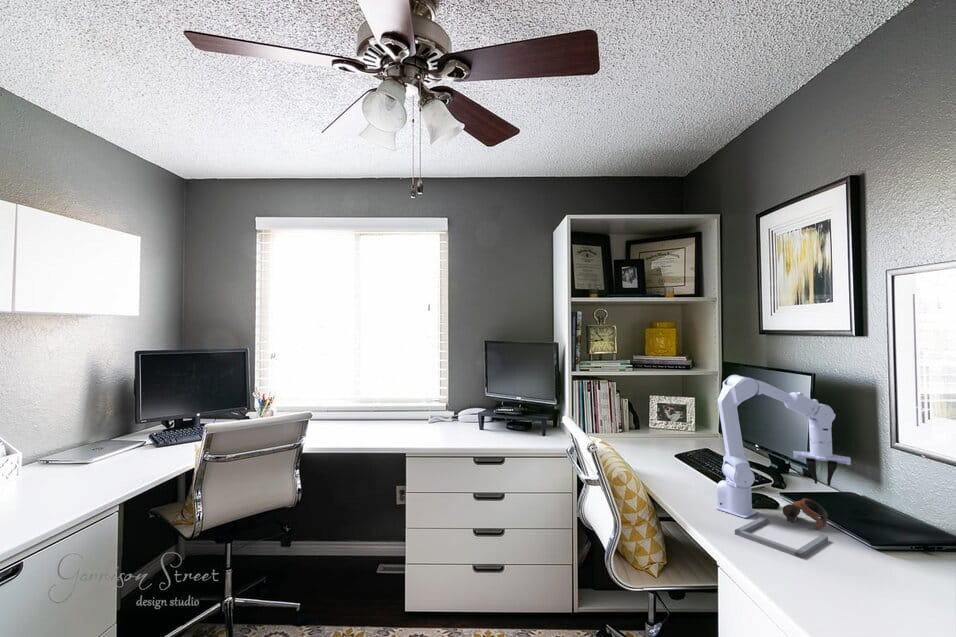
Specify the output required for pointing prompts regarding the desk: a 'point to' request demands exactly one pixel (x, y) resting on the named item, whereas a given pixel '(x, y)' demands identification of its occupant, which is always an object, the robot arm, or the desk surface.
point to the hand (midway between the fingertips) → (822, 483)
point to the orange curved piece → (806, 512)
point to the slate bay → (799, 553)
